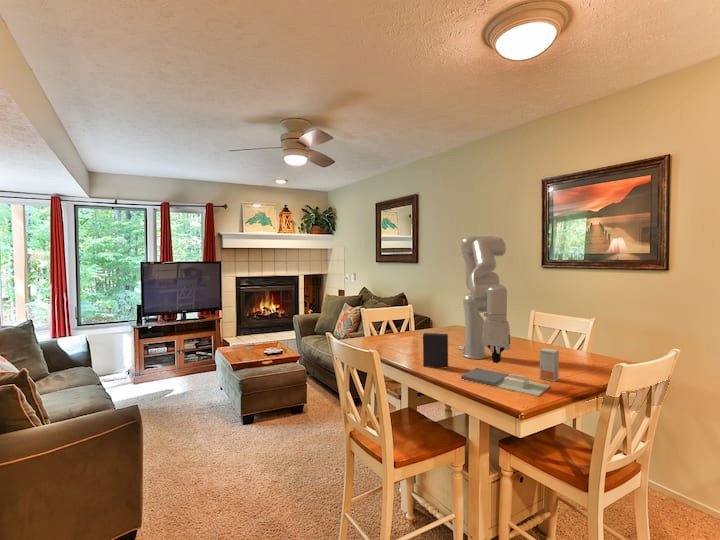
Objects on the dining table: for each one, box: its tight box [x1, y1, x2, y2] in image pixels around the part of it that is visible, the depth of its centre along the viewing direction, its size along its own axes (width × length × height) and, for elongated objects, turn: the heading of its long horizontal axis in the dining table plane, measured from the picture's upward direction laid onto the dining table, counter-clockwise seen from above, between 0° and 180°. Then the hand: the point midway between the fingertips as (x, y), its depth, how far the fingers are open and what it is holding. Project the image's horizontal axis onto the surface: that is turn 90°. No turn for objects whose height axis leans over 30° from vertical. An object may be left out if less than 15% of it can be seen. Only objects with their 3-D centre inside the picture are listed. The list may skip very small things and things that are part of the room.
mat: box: [494, 380, 551, 397], centre depth 148 cm, size 16×14×1 cm
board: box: [460, 367, 510, 387], centre depth 158 cm, size 14×14×2 cm
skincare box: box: [539, 347, 560, 382], centre depth 156 cm, size 6×4×12 cm
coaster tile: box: [504, 373, 530, 389], centre depth 150 cm, size 7×7×2 cm
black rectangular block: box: [422, 332, 449, 368], centre depth 177 cm, size 11×4×15 cm, turn 74°
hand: (496, 362), depth 155 cm, fingers closed
